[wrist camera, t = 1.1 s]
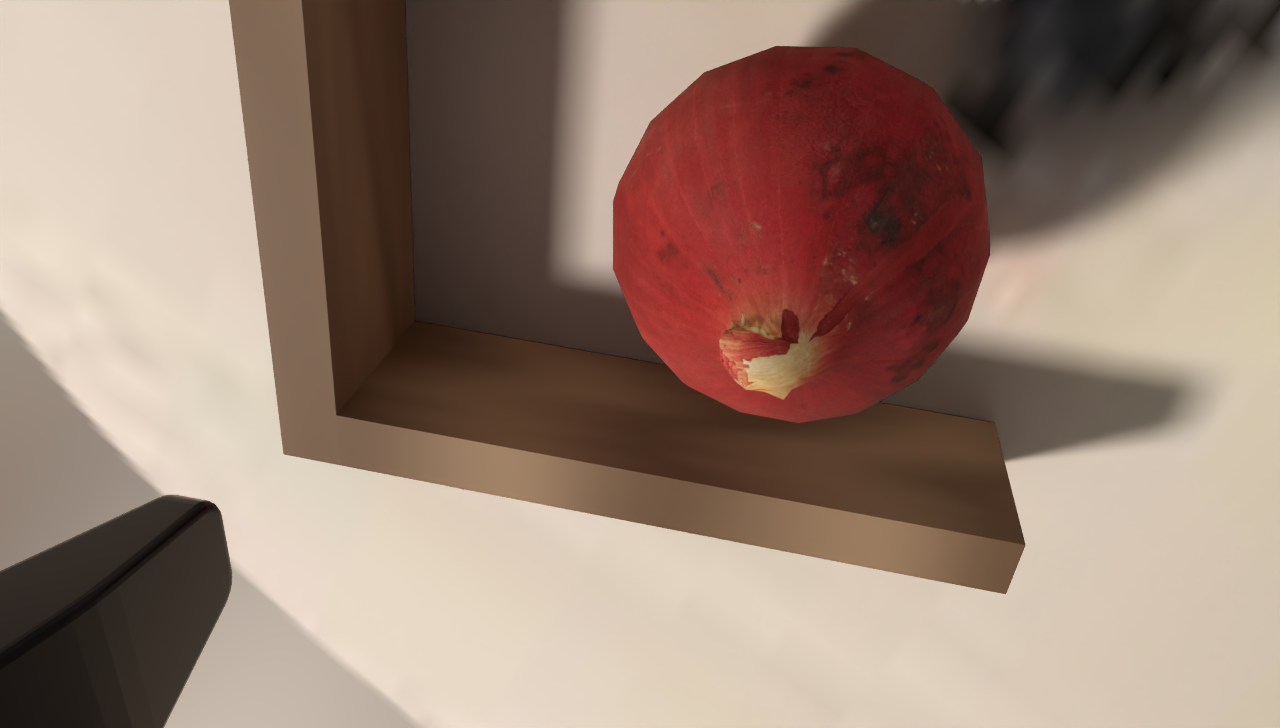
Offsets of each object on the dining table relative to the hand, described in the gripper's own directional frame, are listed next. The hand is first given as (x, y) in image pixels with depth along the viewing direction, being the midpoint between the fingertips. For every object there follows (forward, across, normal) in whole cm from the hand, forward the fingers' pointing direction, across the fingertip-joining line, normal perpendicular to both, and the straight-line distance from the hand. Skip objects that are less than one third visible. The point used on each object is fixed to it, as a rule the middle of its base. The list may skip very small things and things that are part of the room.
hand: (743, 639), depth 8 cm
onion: (+13, 0, 0) cm, 13 cm away
